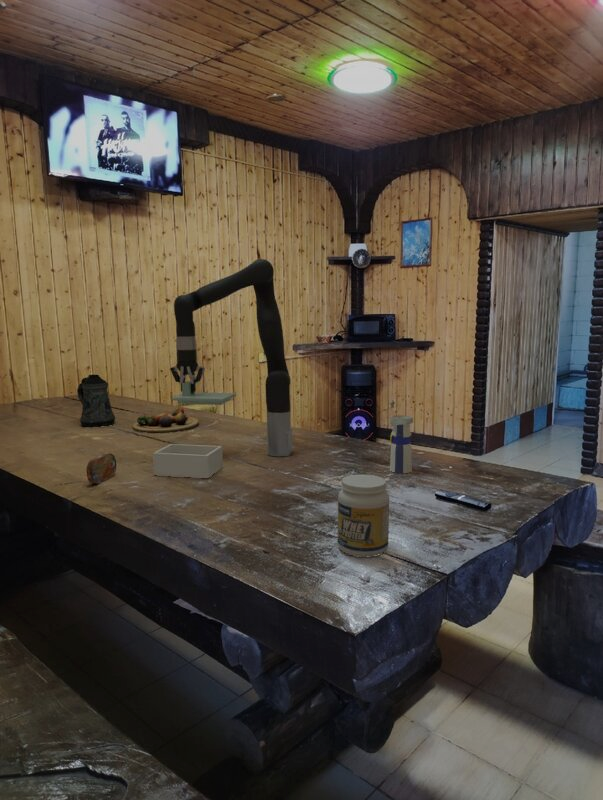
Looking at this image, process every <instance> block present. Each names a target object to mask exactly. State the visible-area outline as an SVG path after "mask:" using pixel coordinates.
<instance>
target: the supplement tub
mask: <svg viewBox="0 0 603 800" xmlns="http://www.w3.org/2000/svg"><path fill="white" fill-rule="evenodd" d="M340 488H341V489H340V490H339V492H338V495H337V541H336V542H337V546H338V548H339V549H340V551H341V550H342V553H344V552H345V553H344V554H346V553H347V554H346V555H348V554H349V555H348V556H350V555H353V556H352V557H354V556H359V557H358V558H362V557H367V556H374V555H378V554H381V553H383V552H384V553H385V552H386V551H387V550H388V548H389V532H390V531H389V529H390V525H389V523H390V496H389V493H388V491H387V481H386V479H385V478H384V477H380V476H377V475H373V474H364V473H363V474H352V475H347V476H344V477H343V478H342V479H341V485H340ZM384 553H383V554H384ZM381 555H382V554H381ZM378 556H379V555H378Z"/></svg>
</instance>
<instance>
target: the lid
mask: <svg viewBox="0 0 603 800" xmlns="http://www.w3.org/2000/svg"><path fill="white" fill-rule="evenodd" d="M236 396H237V393H234V392H197V391H196V392H195V393H193V394H192V393H191V382H190V380H189V381H185V382H184V383H182V392H181V394H179V395H176V396H173V397H171V401H175V402H176V401H177V405H204V406H205V405H210V406H211V405H213V406H223V404H226V403H228V402H230V401H232V398H235V397H236Z"/></svg>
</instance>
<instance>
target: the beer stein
mask: <svg viewBox="0 0 603 800" xmlns="http://www.w3.org/2000/svg"><path fill="white" fill-rule="evenodd" d="M80 381H81V382H80V383H79V385H78V386H77V390H76V391H77V392H76V393H77V398H78V400H79V401H80V402H79V403H81V405H82V411H81V415H80V417H79V418H80V419H79V420H80V424H81V427H82V426H84V427H83V428H85V427H101V426H108V427H110V426H109V425H112V426H114V425H115V422H116V421H115V419H116V416H115V414H114V412H113V408H112V406H111V401H110V397H109V392H108V388H109V383H108V382H107V381H106V380H105V379H103V378H102V377H100V375H99V374H89V375H88V376H87V377H83V378H82V379H81V380H80ZM113 424H114V425H113ZM101 428H102V427H101Z"/></svg>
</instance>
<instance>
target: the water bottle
mask: <svg viewBox="0 0 603 800" xmlns="http://www.w3.org/2000/svg"><path fill="white" fill-rule="evenodd" d="M395 404H396V401H394V399H392V400H391V403H389V405H390V410H391V409H394V408H395V407H394V405H395ZM413 423H414V417H413V416H411V415H404V414H403V415H402V414H399V415H398V414H396V415H393V416H392V417H390V419H389V424H390V426H391V427H393V428H392V431H391V433H390V437H389V438H390V440H389V443H390V444H391V445H390V459H389V460H390V462H389V472H390V471H392V472H396V473H408V472H411V471H412V472H413V469H412V468H413V465H412V463H413V461H412V452H413V451H412V444H411V437H412V433H411V424H413ZM392 472H391V473H392ZM412 472H411V473H412ZM396 473H395V474H396ZM408 474H409V473H408Z"/></svg>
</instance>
